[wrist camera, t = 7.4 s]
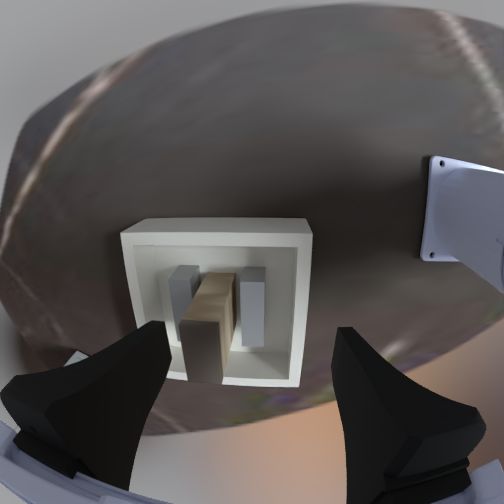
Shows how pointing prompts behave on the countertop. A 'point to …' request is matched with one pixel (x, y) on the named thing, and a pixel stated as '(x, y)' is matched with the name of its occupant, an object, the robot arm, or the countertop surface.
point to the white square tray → (247, 287)
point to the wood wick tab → (209, 328)
